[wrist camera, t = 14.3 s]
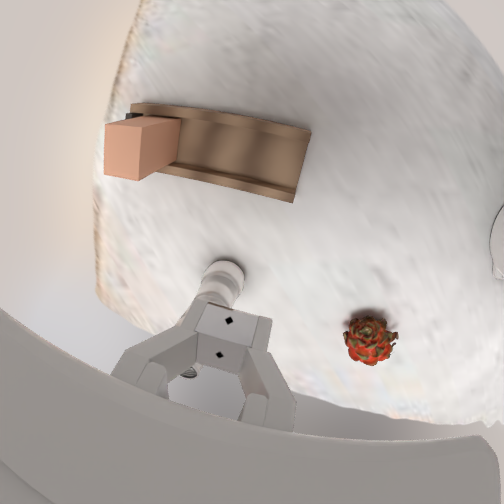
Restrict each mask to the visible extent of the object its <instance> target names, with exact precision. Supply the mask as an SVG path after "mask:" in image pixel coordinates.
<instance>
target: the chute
mask: <svg viewBox="0 0 504 504" xmlns="http://www.w3.org/2000/svg"><path fill="white" fill-rule="evenodd" d="M130 112H132V113H128V114H126V118H125V120H126V119H131V118H136V117H141V116H147V115H155V116H165V117H174V118H181V125H180V133H179V141H178V149H177V158H176V161H174V162H172V163H170V164H168V165H166V166H165V167H163V168H161V169H159V170H157V171H155V172H160V173H165V174H170V175H175V176H180V177H185V178H189V179H194V180H199V181H203V182H208V183H212V184H217V185H221V186H225V187H230V188H234V189H238V190H242V191H246V192H250V193H254V194H258V195H262V196H266V197H270V198H274V199H278V200H282V201H285V202H289V203H293V201H294V197H295V192H296V187H297V184H298V180H299V176H300V172H301V169H302V165H303V161H304V157H305V153H306V150H307V146H308V143H309V141H310V137H311V131H309V130H305V129H301V128H298V127H294V126H290V125H286V124H281V123H277V122H273V121H268V120H264V119H259V118H254V117H249V116H244V115H238V114H233V113H227V112H221V111H215V110H208V109H201V108H193V107H185V106H176V105H165V104H153V103H136V104H131V108H130Z"/></svg>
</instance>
